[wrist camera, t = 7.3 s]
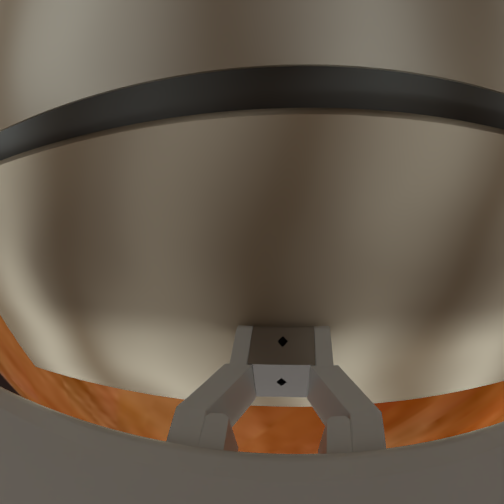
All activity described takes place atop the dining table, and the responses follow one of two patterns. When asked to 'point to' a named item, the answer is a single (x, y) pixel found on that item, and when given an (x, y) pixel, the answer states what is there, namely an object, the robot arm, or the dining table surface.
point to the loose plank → (260, 248)
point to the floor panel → (241, 61)
